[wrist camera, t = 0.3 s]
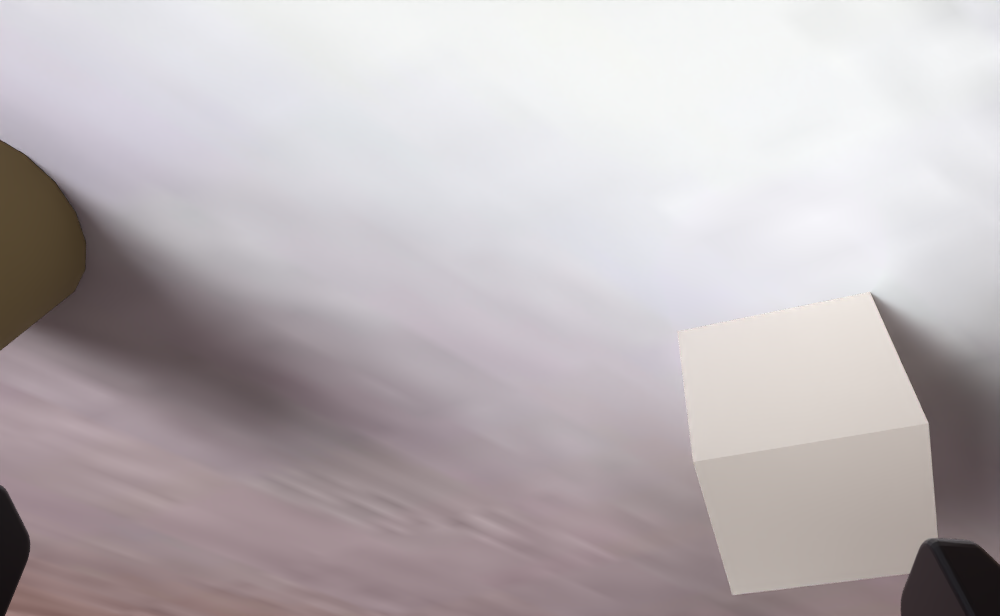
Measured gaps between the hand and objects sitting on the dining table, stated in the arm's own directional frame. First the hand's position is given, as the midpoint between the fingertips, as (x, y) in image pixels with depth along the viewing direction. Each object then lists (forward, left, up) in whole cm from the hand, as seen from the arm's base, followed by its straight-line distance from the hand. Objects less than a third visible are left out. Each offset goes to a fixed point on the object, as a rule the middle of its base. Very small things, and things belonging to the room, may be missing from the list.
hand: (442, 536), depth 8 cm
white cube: (-11, -4, -14) cm, 18 cm away
